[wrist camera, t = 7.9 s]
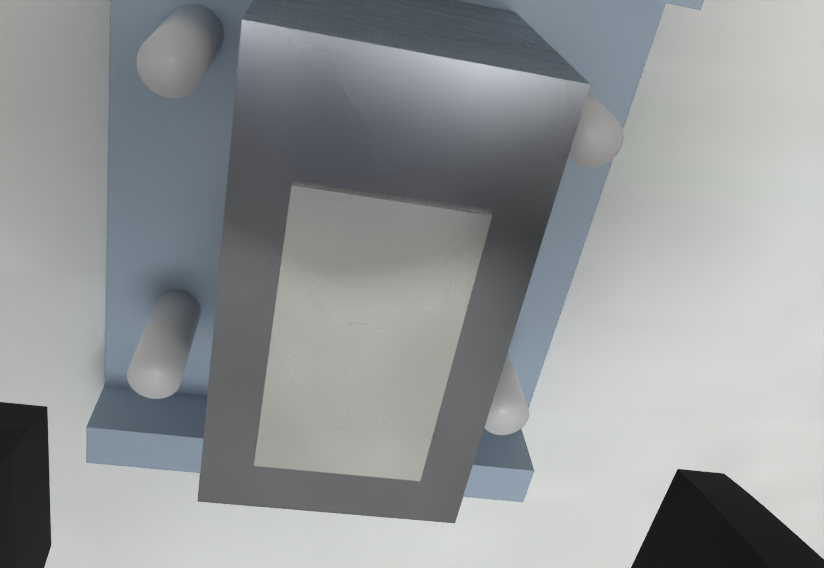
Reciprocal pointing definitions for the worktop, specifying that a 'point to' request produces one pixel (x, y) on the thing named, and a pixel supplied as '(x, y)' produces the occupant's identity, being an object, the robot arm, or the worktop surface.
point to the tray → (205, 203)
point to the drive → (376, 248)
